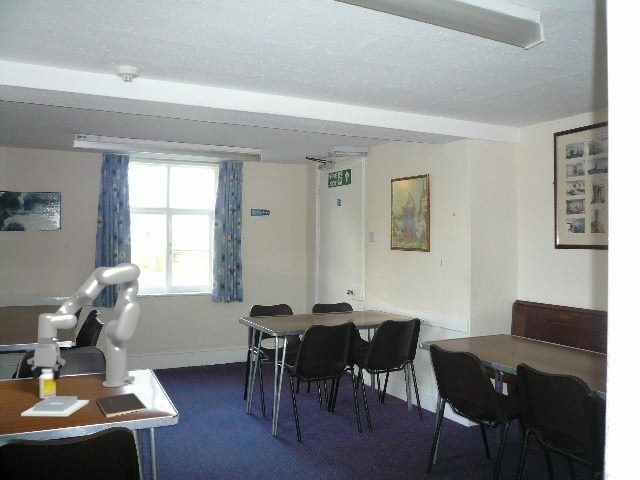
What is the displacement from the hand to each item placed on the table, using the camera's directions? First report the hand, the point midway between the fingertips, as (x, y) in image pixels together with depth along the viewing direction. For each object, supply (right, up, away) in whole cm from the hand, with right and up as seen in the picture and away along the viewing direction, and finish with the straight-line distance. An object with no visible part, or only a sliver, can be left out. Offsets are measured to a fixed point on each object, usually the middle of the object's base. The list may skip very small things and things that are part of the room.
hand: (46, 378), depth 231 cm
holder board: (+13, -8, -16) cm, 22 cm away
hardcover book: (+39, -9, -13) cm, 42 cm away
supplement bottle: (+1, -9, 0) cm, 9 cm away
